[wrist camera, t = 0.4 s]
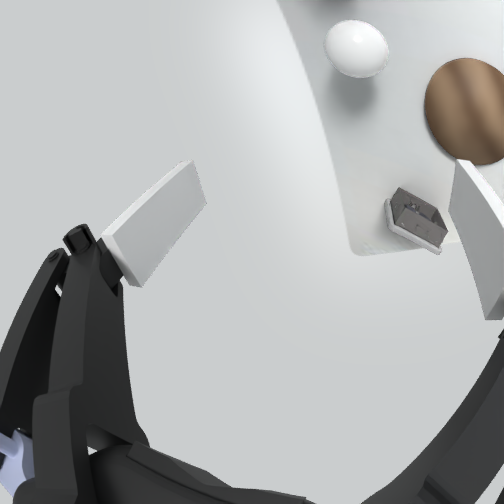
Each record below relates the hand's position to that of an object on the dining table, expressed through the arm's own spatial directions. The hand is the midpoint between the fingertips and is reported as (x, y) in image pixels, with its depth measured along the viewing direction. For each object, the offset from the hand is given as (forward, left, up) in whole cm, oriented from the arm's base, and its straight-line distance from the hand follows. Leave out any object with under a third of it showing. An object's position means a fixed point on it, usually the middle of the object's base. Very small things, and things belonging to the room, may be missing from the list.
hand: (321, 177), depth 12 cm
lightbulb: (-3, -2, -27) cm, 27 cm away
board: (-9, +14, -26) cm, 31 cm away
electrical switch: (+8, +21, -27) cm, 35 cm away
